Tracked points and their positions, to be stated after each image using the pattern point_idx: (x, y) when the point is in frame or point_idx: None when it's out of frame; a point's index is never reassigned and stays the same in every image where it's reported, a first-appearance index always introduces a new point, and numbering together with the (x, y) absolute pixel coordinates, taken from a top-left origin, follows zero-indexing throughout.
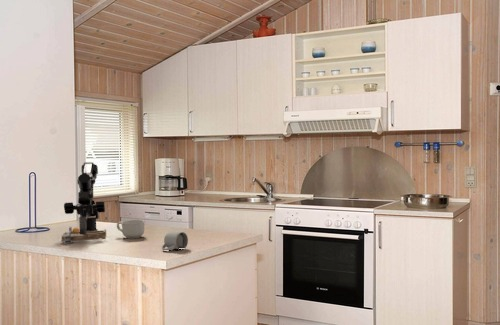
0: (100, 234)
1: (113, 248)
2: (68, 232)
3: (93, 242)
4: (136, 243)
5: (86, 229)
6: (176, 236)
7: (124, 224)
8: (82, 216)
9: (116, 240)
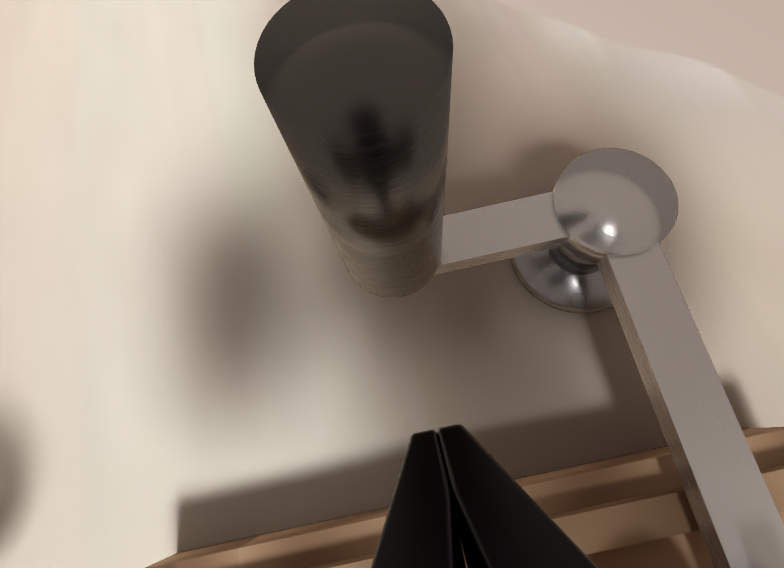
0: (212, 552)
1: (64, 22)
2: (699, 391)
3: (281, 278)
4: None
5: None
6: None
7: None
8: (521, 522)
9: (34, 379)
